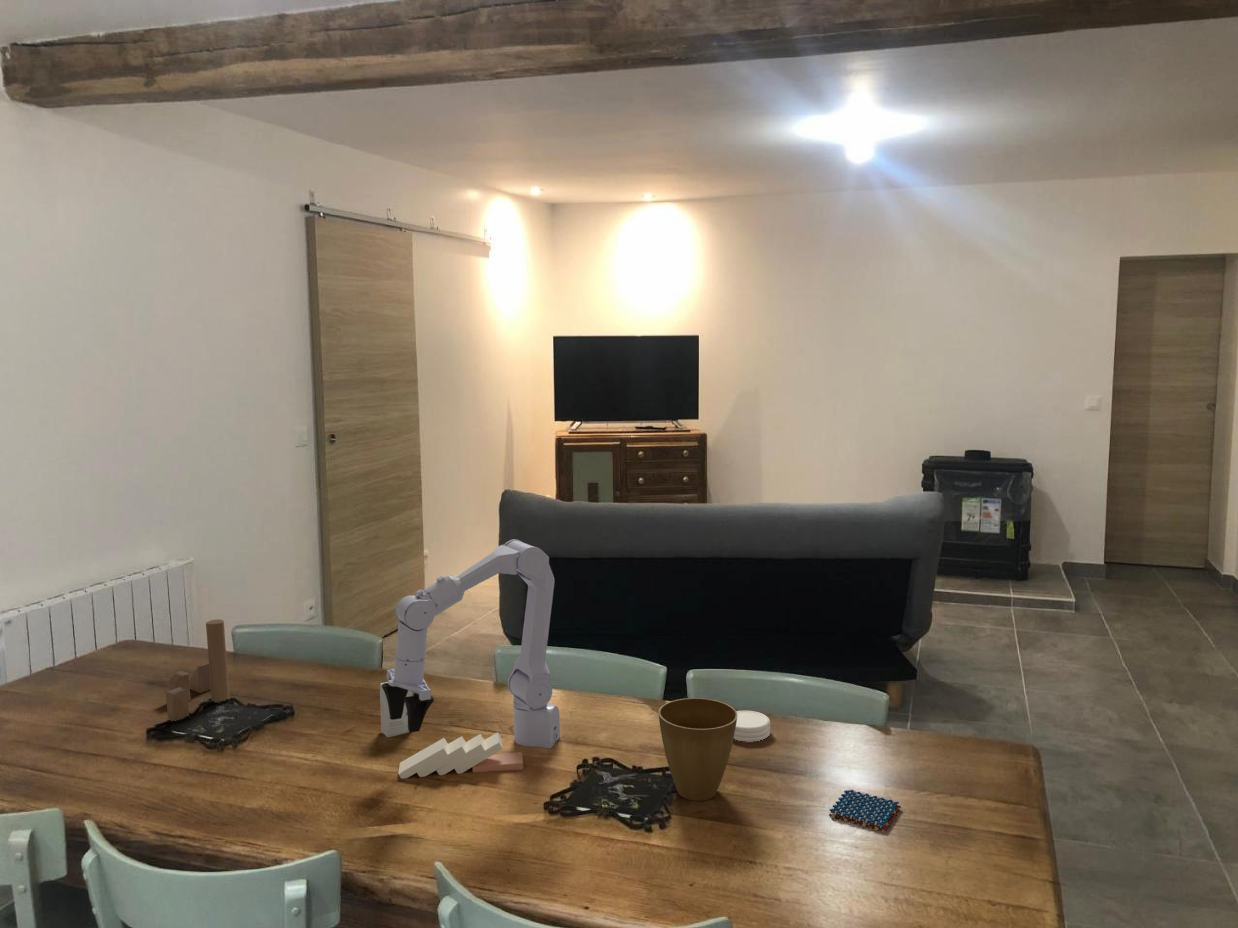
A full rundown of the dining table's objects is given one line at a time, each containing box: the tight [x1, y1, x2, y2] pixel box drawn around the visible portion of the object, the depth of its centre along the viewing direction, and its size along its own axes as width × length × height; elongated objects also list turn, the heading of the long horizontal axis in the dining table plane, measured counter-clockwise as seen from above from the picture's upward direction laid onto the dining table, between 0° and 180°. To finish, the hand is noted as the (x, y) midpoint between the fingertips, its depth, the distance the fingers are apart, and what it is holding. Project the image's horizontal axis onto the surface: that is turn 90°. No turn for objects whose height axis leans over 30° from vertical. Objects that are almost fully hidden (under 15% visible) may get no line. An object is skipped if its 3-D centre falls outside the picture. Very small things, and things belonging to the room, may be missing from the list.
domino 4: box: [454, 732, 503, 775], centre depth 187 cm, size 2×5×10 cm
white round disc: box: [734, 710, 771, 743], centre depth 204 cm, size 10×10×4 cm
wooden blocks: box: [165, 618, 230, 721], centre depth 225 cm, size 17×20×20 cm
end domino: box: [472, 751, 524, 774], centre depth 188 cm, size 2×5×10 cm
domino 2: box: [416, 735, 467, 778], centre depth 186 cm, size 2×5×10 cm
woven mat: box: [828, 789, 902, 833], centre depth 169 cm, size 10×11×2 cm
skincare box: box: [379, 681, 413, 738], centre depth 204 cm, size 6×4×12 cm
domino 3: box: [435, 733, 485, 776], centre depth 186 cm, size 2×5×10 cm
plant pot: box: [657, 697, 737, 802], centre depth 177 cm, size 15×15×16 cm
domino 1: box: [398, 737, 449, 779], centre depth 185 cm, size 2×5×10 cm
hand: (404, 724), depth 184 cm, fingers open, 7 cm apart
